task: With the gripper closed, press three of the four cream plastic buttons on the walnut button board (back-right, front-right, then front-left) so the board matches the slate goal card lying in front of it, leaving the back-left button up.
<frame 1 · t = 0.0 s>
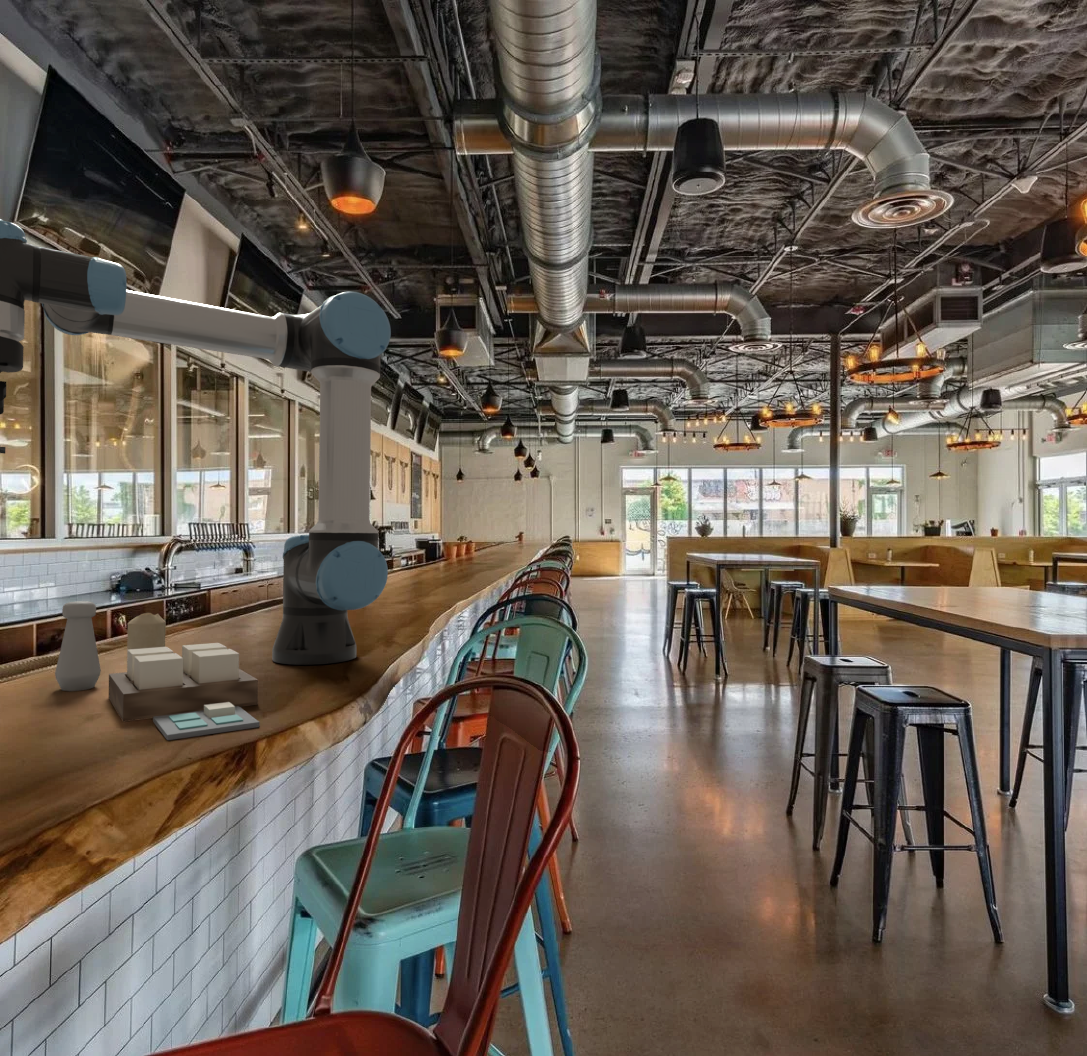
goal card: (205, 724, 88), on the bar counter
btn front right: (158, 671, 95), point 5 cm above the bar counter, slide at 0.0 cm
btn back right: (150, 663, 100), point 5 cm above the bar counter, slide at 0.0 cm
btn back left: (204, 658, 105), point 5 cm above the bar counter, slide at 0.0 cm
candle: (146, 675, 119), on the bar counter
button board: (181, 701, 100), on the bar counter
salt shaker: (77, 689, 107), on the bar counter
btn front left: (215, 666, 99), point 5 cm above the bar counter, slide at 0.0 cm
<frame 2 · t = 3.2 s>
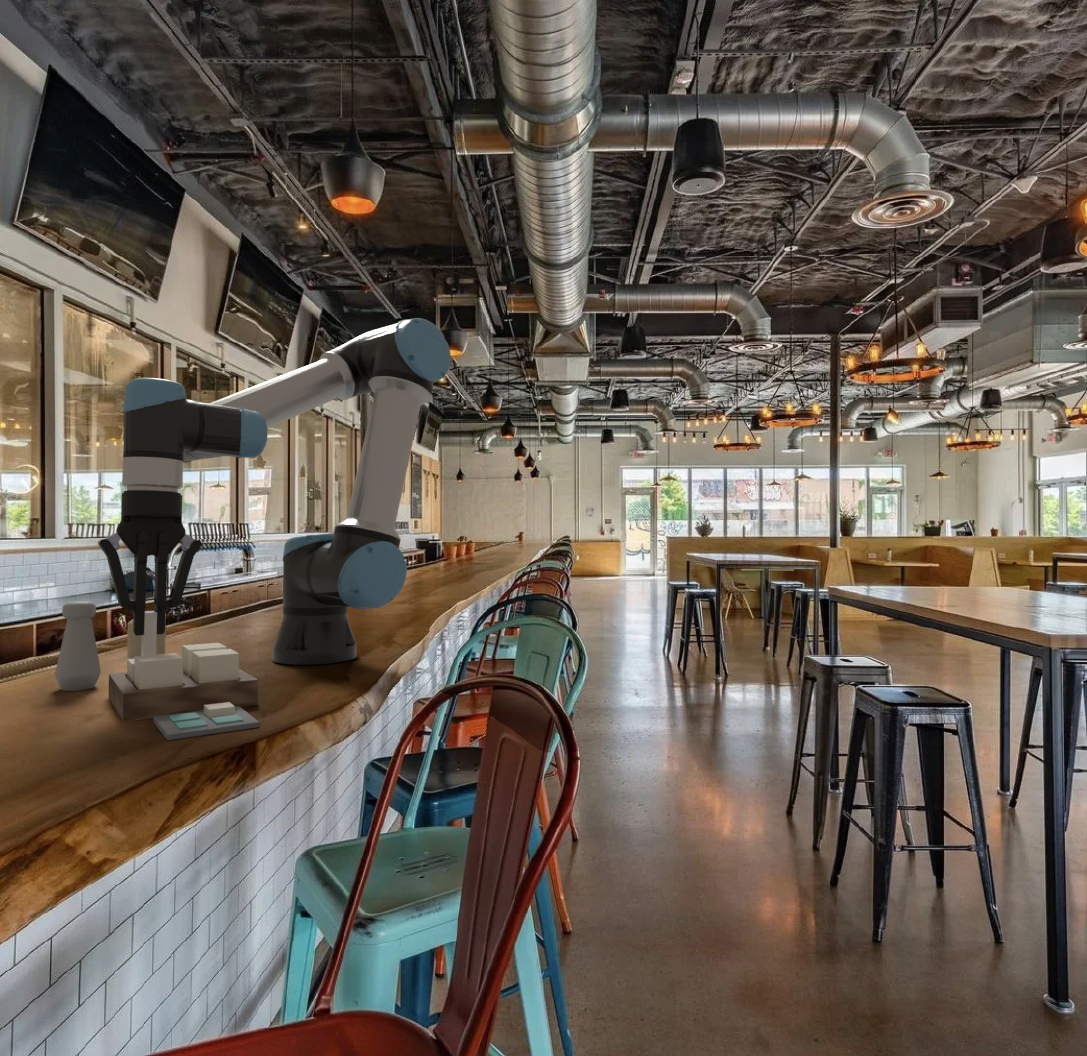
hand: (148, 658, 100), 6 cm above the bar counter, fingers closed
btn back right: (149, 673, 100), point 4 cm above the bar counter, slide at 1.4 cm, touching gripper
everything else where it was.
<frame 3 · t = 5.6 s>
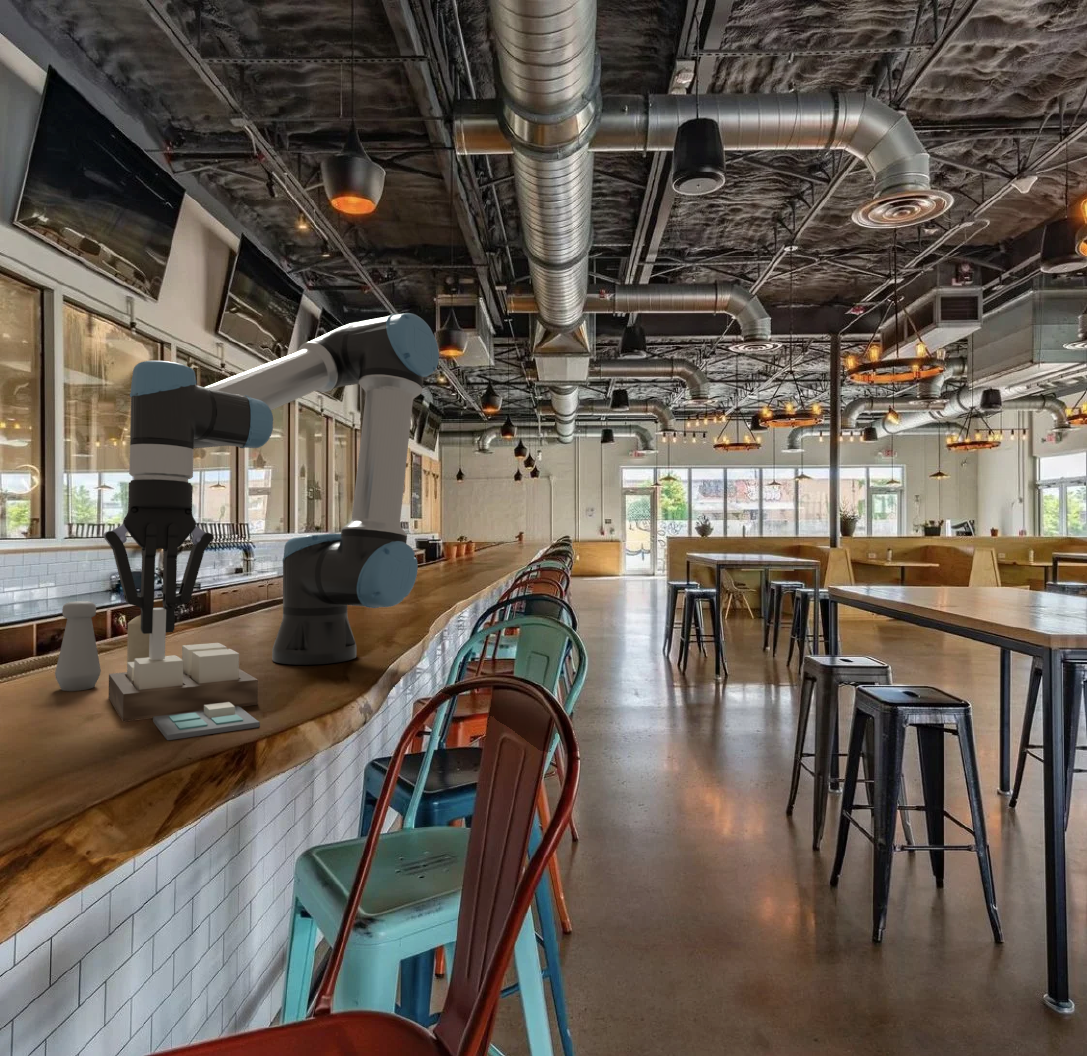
hand: (156, 657, 95), 7 cm above the bar counter, fingers closed
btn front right: (158, 673, 95), point 5 cm above the bar counter, slide at 0.3 cm, touching gripper
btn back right: (149, 676, 100), point 3 cm above the bar counter, slide at 1.8 cm
everything else where it was.
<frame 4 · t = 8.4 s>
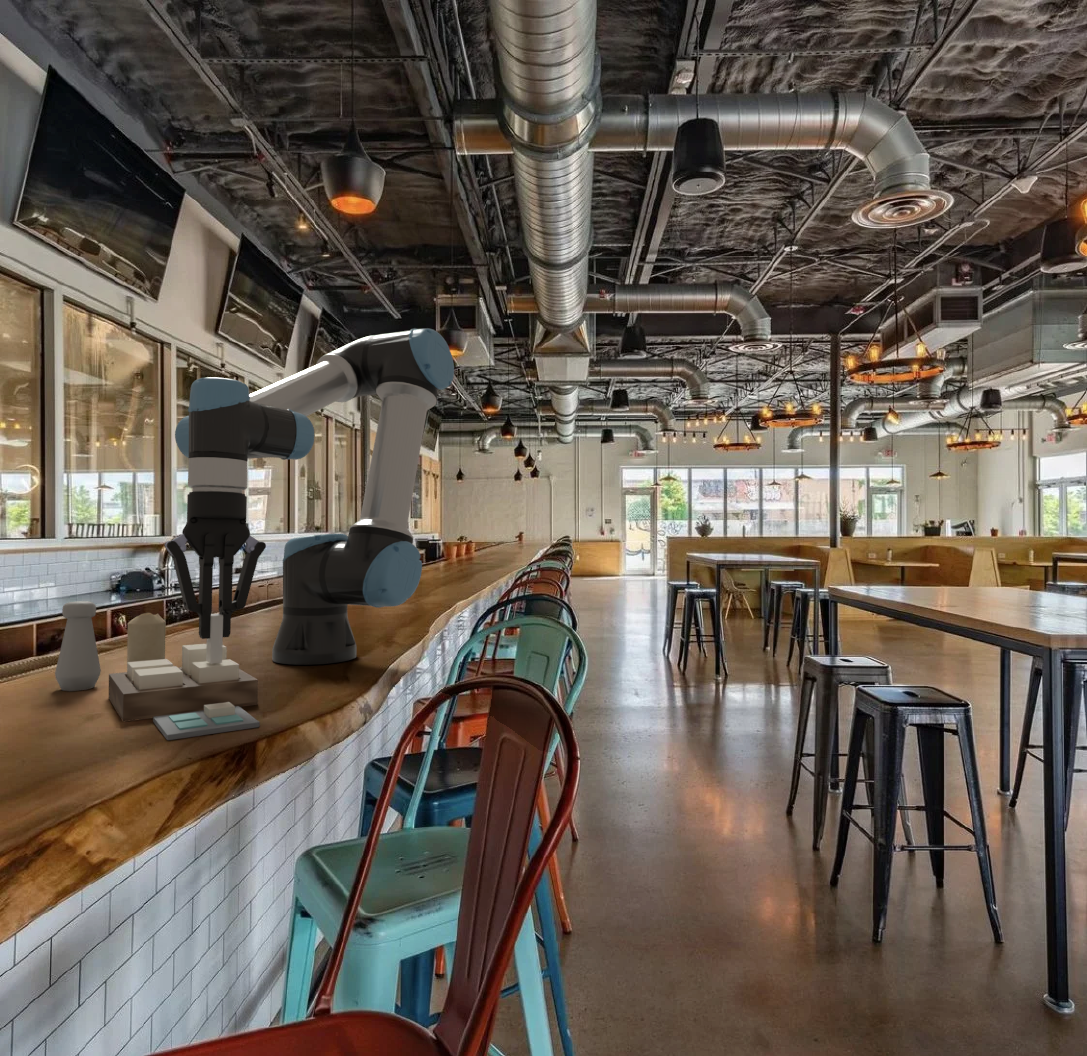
hand: (214, 661, 99), 6 cm above the bar counter, fingers closed
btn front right: (158, 684, 95), point 3 cm above the bar counter, slide at 1.8 cm
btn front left: (215, 676, 99), point 4 cm above the bar counter, slide at 1.5 cm, touching gripper
everything else where it was.
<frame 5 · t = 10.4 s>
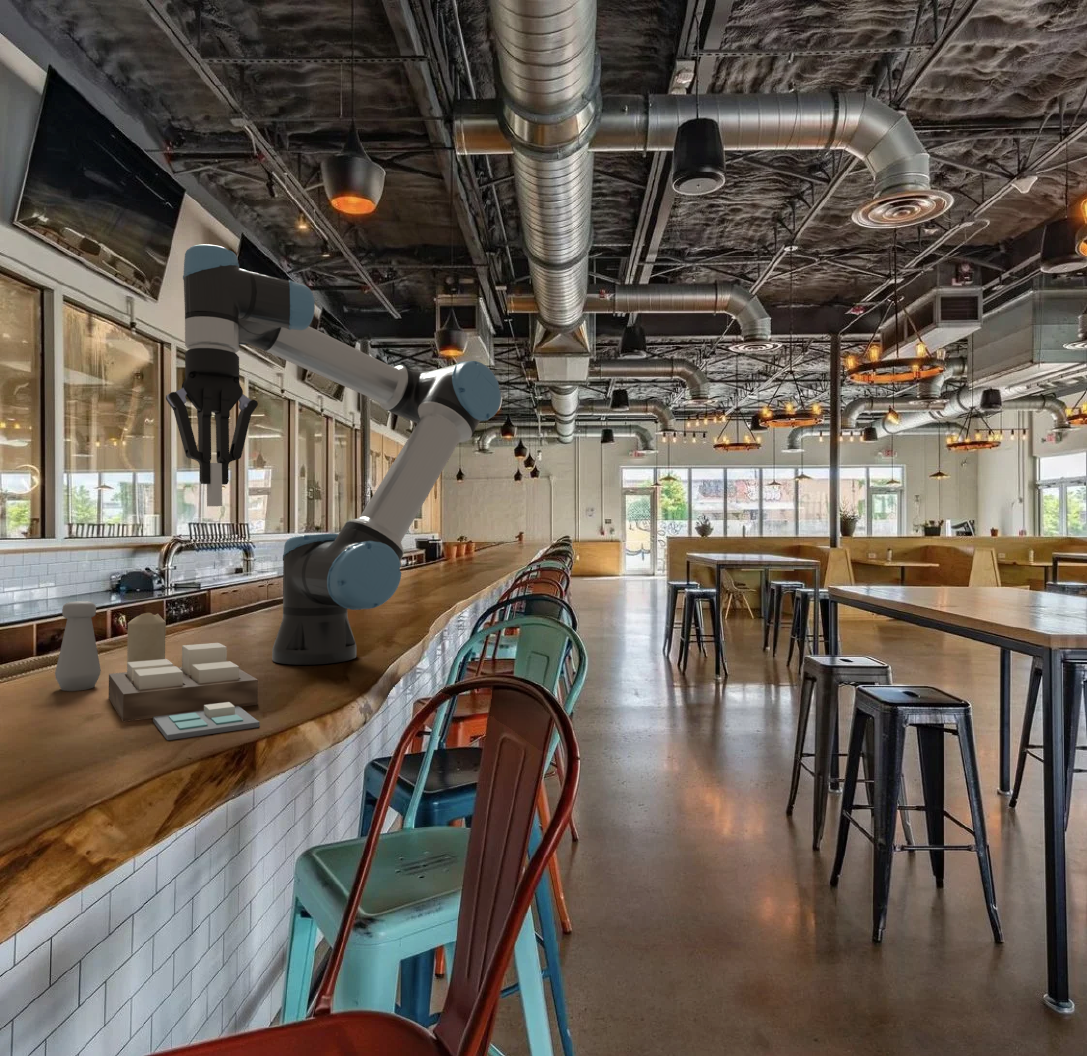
hand: (214, 506, 109), 28 cm above the bar counter, fingers closed
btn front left: (215, 678, 99), point 3 cm above the bar counter, slide at 1.8 cm
everything else where it was.
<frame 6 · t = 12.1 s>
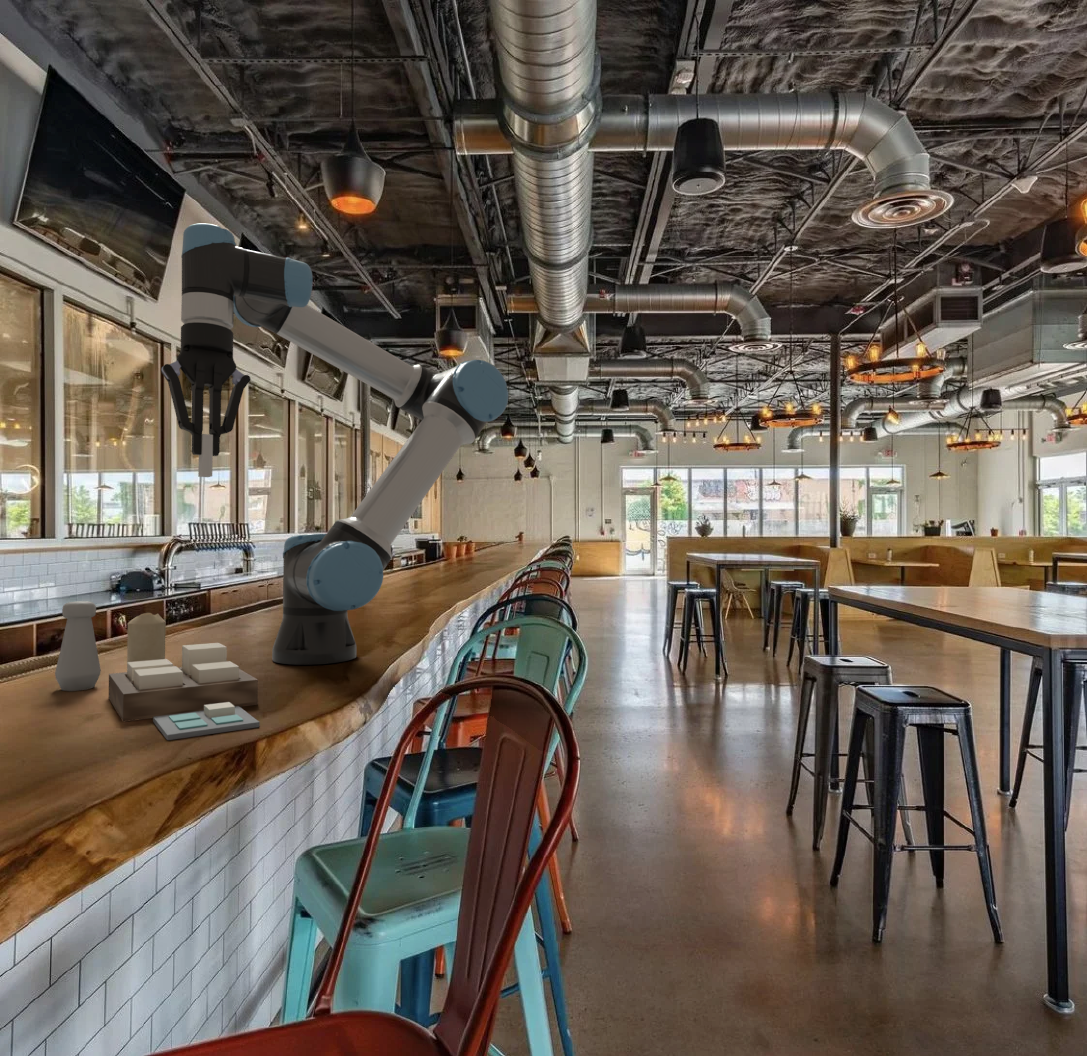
hand: (205, 476, 113), 32 cm above the bar counter, fingers closed
nothing on the bar counter moved.
at the end: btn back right slide at 1.8 cm; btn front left slide at 1.8 cm; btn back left slide at 0.0 cm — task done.
